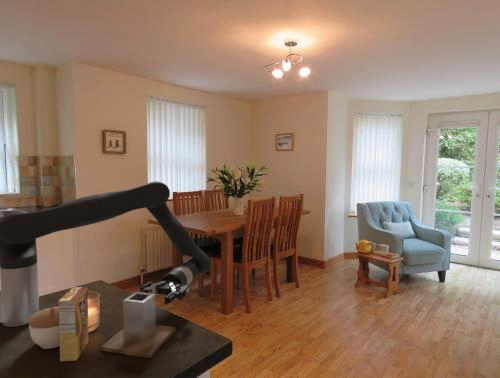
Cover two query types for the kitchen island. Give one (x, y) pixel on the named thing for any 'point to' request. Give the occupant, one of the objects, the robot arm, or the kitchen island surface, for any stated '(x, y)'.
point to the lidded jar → (45, 328)
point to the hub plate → (139, 349)
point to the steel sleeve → (139, 317)
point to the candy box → (73, 323)
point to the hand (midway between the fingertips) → (152, 299)
